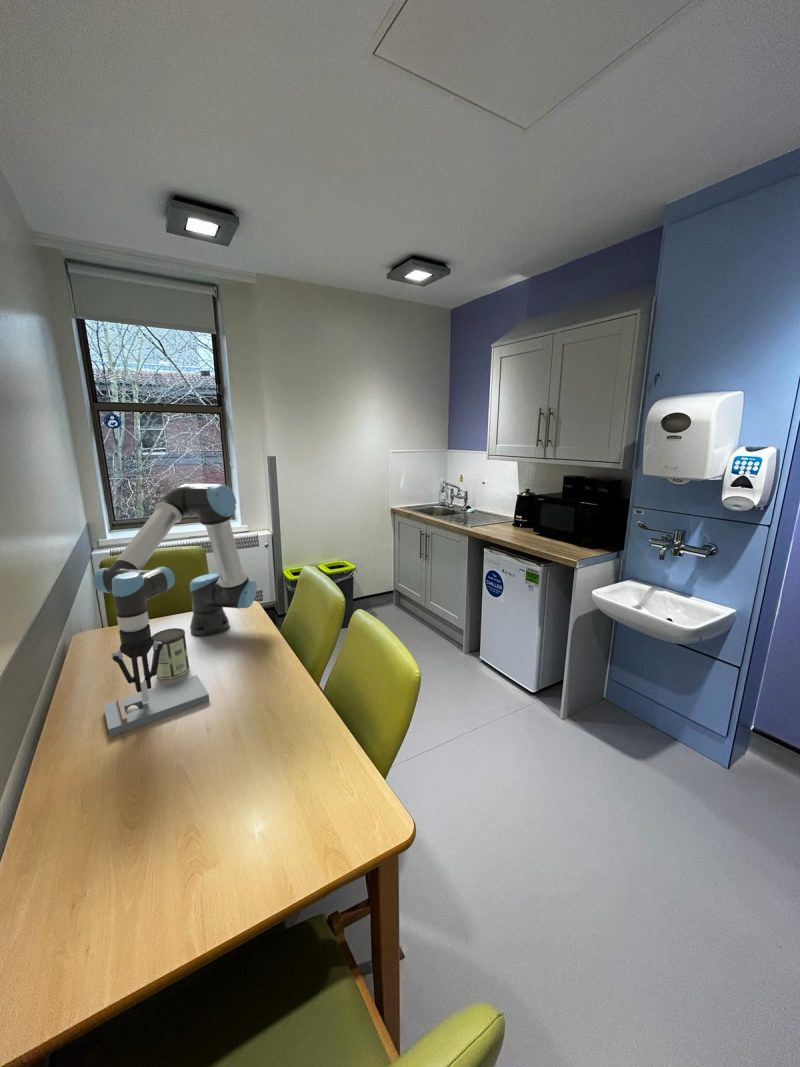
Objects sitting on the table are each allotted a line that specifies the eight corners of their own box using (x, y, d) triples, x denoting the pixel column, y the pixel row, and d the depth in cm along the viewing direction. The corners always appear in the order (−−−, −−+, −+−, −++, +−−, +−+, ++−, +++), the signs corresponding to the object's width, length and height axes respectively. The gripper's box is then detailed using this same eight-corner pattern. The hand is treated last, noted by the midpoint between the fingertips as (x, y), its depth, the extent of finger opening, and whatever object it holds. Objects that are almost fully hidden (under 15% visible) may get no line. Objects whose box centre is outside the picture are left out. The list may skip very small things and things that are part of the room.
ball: (127, 703, 126) (123, 714, 126) (129, 708, 124) (125, 719, 124) (139, 703, 128) (135, 714, 128) (141, 708, 126) (137, 719, 126)
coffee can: (168, 663, 155) (163, 627, 152) (195, 664, 154) (191, 628, 151) (149, 679, 145) (143, 641, 142) (178, 680, 144) (173, 642, 141)
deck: (197, 681, 144) (196, 670, 143) (209, 701, 133) (208, 689, 132) (104, 712, 128) (102, 700, 127) (109, 737, 117) (107, 724, 117)
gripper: (157, 616, 129) (167, 686, 135) (105, 628, 122) (118, 701, 127) (162, 624, 124) (172, 697, 129) (108, 637, 116) (121, 714, 121)
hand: (145, 699), depth 128 cm, fingers closed
